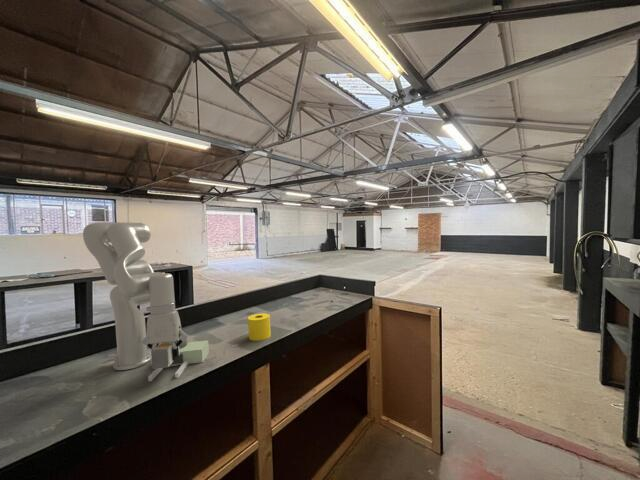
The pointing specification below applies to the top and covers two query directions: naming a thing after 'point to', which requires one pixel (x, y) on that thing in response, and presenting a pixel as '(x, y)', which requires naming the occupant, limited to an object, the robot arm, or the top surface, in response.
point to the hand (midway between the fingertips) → (166, 359)
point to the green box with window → (187, 356)
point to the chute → (162, 355)
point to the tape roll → (259, 327)
